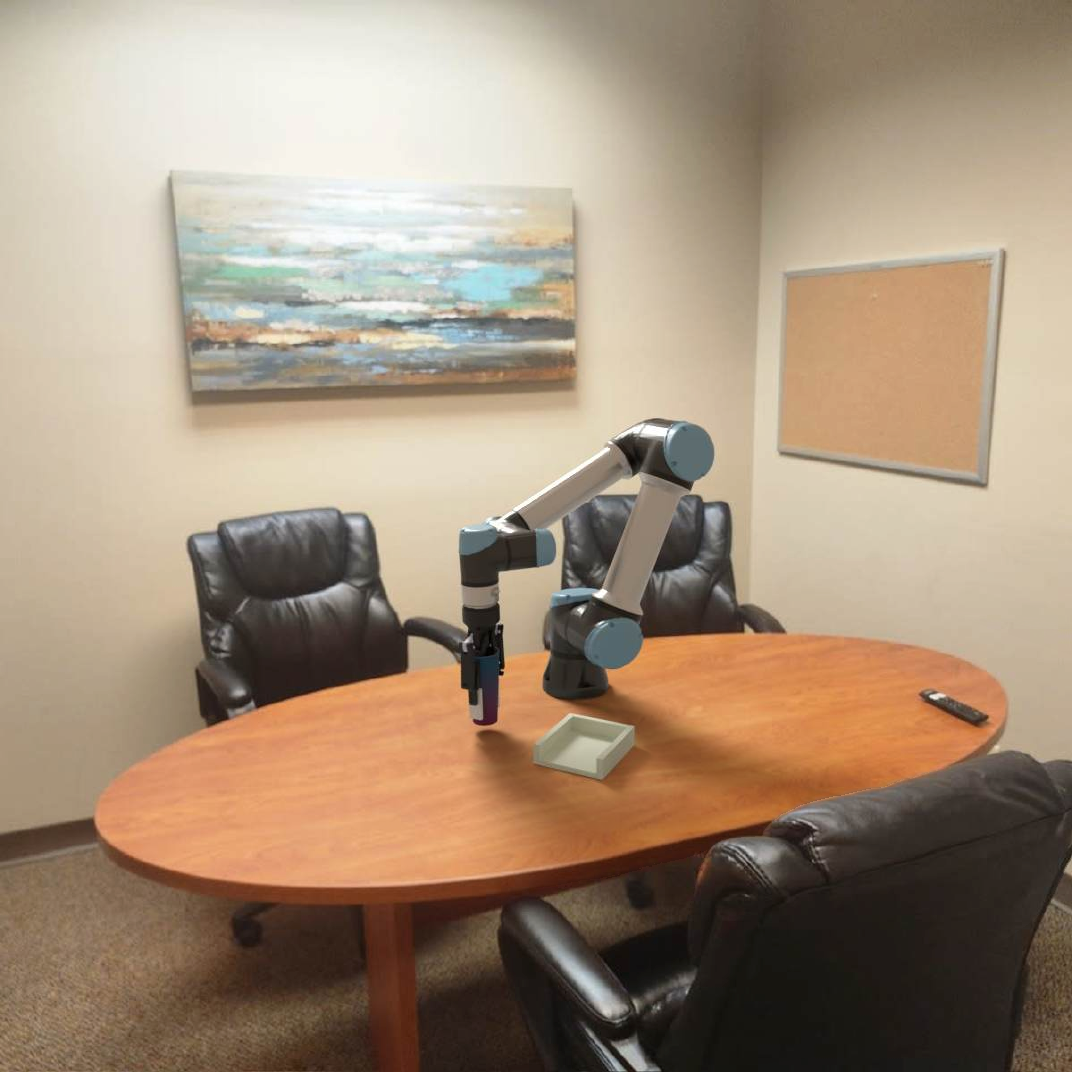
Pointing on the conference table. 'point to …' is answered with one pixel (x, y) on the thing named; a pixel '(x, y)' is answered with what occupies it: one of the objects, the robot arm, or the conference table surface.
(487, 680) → the cup
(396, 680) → the conference table surface
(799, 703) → the conference table surface
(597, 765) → the open sided tray
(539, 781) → the conference table surface
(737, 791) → the conference table surface
